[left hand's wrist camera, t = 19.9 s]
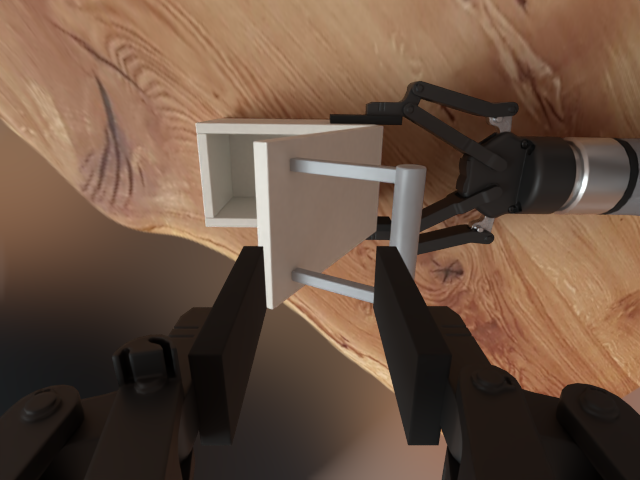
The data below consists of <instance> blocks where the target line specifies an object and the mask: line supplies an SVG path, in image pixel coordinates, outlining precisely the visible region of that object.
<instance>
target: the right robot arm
mask: <svg viewBox="0 0 640 480" xmlns="http://www.w3.org/2000/svg"><path fill="white" fill-rule="evenodd" d="M421 99H423V100H426V101H430V102H433V103H436V104H440V105H443V106H446V107H449V108H453V109H456V110H459V111H462V112H466V113H469V114H472V115H476V116H484V117H486V123H487V124H489V125H492V126H494V127H495V129H496V132H495V133H493V134H492V135H490V136H489V137H487V138H486V139H484V140H483V141H481V142H479V143H477V142H475V141H474V140H472V139H470V138H468V137H466V136H465V135H463V134H461V133H460V132H458V131H457V130H455V129H453V128H452V127H450V126H449V125H447V124H445V123H444V122H442V121H441V120H439V119H438V118H436V117H434V116H433V115H431V114H430V113H428V112H426V111H425V110H423V109H422V108H420V107H418V104H419V102H420V100H421ZM518 109H519V107H518V104H517V103H515V102H494V103H490V102H487V101H484V100H480V99H477V98H474V97H471V96H468V95H464V94H461V93H458V92H455V91H451V90H448V89H445V88H442V87H439V86H435V85H432V84H429V83H426V82H422V81H418V82H413V83H410V84H409V85H408V87H407V92H406V94H405V96H404V98H403V99H402V100H401V101H400V102H370V103H368V104H366V113H365V115H348V114H330V124H375V125H402V117H405V118H407V119H408V120H410V121H412V122H413V123H415V124H416V125H418V126H420V127H421V128H423V129H425V130H426V131H428V132H429V133H431V134H433V135H434V136H436V137H438V138H439V139H441V140H442V141H444V142H446V143H447V144H449V145H451V146H452V147H453V148H455V149H456V150H458V151H460V152H461V153H463V154H464V155H463V157H462V158H460V162H459V170H460V174H459V177H458V179H457V183H456V189H458V190H457V191H455V192H453V193H451V194H449V195H447V197H446V198H444V199H442V200H440V201H438V202H436V203H434V204H432V205H430V206H428V207H426V208H424V209H422V215H421V224H420V232H421V231H423V230H425V229H428V228H430V227H432V226H434V225H436V224H438V223H440V222H442V221H444V220H446V219H448V218H451V217H453V216H455V215H457V214H463V213H466V212H468V211H470V210H472V209H474V208H475V209H476V210H478V211H479V212H480V213H481V214H482V215H481V217H480V218H479V219H476V220H472V221H470V222H469V225H467V224H464V225H457V226H452V227H448V228H444V229H439V230H435V231H431V232H427V233H422V234H419V242H418V251H417V255H419V254H423V253H427V252H432V251H436V250H440V249H445V248H449V247H454V246H458V245H462V244H467V243H481V244H490V243H492V242H493V240H494V235H493V234H492V233H491V229H492V226H493V222H494V219H495V218H497V217H499V216H501V215H504V214H551V213H555V214H605V215H606V214H612V215H637V216H640V138H633V139H618V138H593V137H565V138H560V137H525V136H516V135H515V134H513V133H512V132H511V123H512V116H514V115H515V114H516V113H517V112H518ZM391 222H392V221H391V219H390V218H389V217H385V216H377V228H376V232H374V233H373V234H372V235H371V236H369V237H368V238H367V239H365V240H390V233H391Z"/></svg>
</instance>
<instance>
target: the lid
mask: <svg viewBox="0 0 640 480" xmlns="http://www.w3.org/2000/svg"><path fill="white" fill-rule="evenodd" d="M382 142H383V126H375V125H374V126H367V127H359V128H351V129H344V130H336V131H328V132H320V133H313V134H305V135H297V136H290V137H282V138H274V139H266V140H259V141H254V142H253V146H254V167H255V188H256V208H257V229H258V246H263V250H264V267H265V284H266V302H267V308H270V309H274V308H276V307H277V306H278V305H280V304H281V303H282V302H284V301H285V300H286V299H287V298H289V297H290V296H291V295H293V294H294V293H295V292H297V291H298V290H299V289H301V288H302V287H303V286H305V285H309V286H313V287H317V288H320V289H324V290H327V291H331V292H335V293H338V294H342V295H345V296H349V297H352V298H356V299H360V300H363V301H367V302H370V303H373V302H374V287H372V286H368V285H364V284H360V283H357V282H353V281H349V280H345V279H341V278H337V277H333V276H329V275H325V274H321V273H322V272H323V271H324V270H326V269H327V268H328V267H330V266H331V265H332V264H334V263H335V262H336V261H338V260H339V259H340V258H342V257H343V256H344V255H345V254H347V253H348V252H349V251H351V250H352V249H353V248H355V247H356V246H357V245H359V244H360V243H361V242H363V241H364V240H365V239H367V238H368V237H369V236H371V235H372V234H373V233H374V232H376V228H377V214H378V199H379V185H380V182H386V183H395V186H394V198H393V210H392V222H391V233H390V245H389V246H396V247H397V249H398V251H399V253H400V255H401V257H402V258H403V260H404V262H405V264H406V266H407V268H408V270H409V272H410V274H411V276H412V278H413V280H414V277H415V268H416V259H417V251H418V242H419V233H420V224H421V215H422V206H423V197H424V188H425V179H426V170H427V168H426V167H425V166H422V165H415V164H401V165H397V166H396V167H392V166H382V165H381V156H382Z"/></svg>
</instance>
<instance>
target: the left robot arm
mask: <svg viewBox="0 0 640 480" xmlns="http://www.w3.org/2000/svg"><path fill="white" fill-rule="evenodd" d="M266 309H267V302H266V284H265V267H264V250H263V246H244V247H243V249H242V251H241V253H240V255H239V257H238V258H237V260H236V262H235V264H234V266H233V268H232V270H231V272H230V274H229V276H228V278H227V280H226V282H225V284H224V286H223V288H222V290H221V291H220V294H219V295H218V297H217V299H216V301H215V303H214V305H213V307H193V308H192V309H190V310H189V311H188V312H186V313H185V314H183V315H182V316H181V317H180V319H179V320H178V322H177V323H176V325H175V326H174V329H172V331H171V333H170V334H169V336H165V335H148V336H143V337H138V338H136V339H134V340H131V341H129V342H127V343H125V344H124V345H123V346H121V347H120V348H118V349H117V351H116V352H115V353H114V354H113V356H112V359H113V363H114V367H115V371H116V375H117V380H118V384H119V389H118V391H115V392H112V393H108V394H104V395H100V396H95V397H91V398H86V399H82V400H81V399H80V396H79V392H78V391H77V390H76V389H75V388H74V387H73V386H68V385H56V386H49V387H46V388H43V389H40V390H37V391H35V392H33V393H31V394H29V395H27V396H25V397H23V398H22V399H21V400H19V401H18V402H17V403H15V404H14V405H13V406H12V407H10V408H9V409H8V410H7V411H6V412H5V413H4V414H3V415H2V416H1V417H0V480H193V478H194V467H195V457H194V450H193V445H194V442H195V439H196V436H197V434H198V431H199V432H200V438H201V445H232V442H233V438H234V435H235V431H236V427H237V423H238V419H239V415H240V411H241V407H242V403H243V399H244V395H245V391H246V387H247V383H248V380H249V376H250V372H251V368H252V364H253V360H254V356H255V352H256V348H257V344H258V340H259V336H260V332H261V328H262V325H263V320H264V317H265V313H266ZM373 309H374V313H375V317H376V321H377V325H378V328H379V332H380V336H381V340H382V344H383V348H384V352H385V356H386V360H387V364H388V368H389V372H390V376H391V380H392V384H393V388H394V391H395V395H396V399H397V403H398V407H399V411H400V415H401V419H402V423H403V427H404V431H405V435H406V439H407V443H408V445H439V438H440V432H441V429H442V432H443V435H444V437H445V440H446V443H447V450H446V456H445V462H444V469H443V475H442V480H640V415H639V414H638V413H637V412H636V411H635V410H634V409H633V408H632V407H631V406H630V405H628V404H627V403H626V402H625V401H623V400H622V399H621V398H620V397H618V396H616V395H615V394H613V393H611V392H609V391H607V390H605V389H602V388H599V387H596V386H593V385H589V384H581V383H575V384H570V385H567V386H566V387H565V388H564V389H562V392H561V396H560V398H556V397H552V396H547V395H543V394H538V393H534V392H530V391H527V390H524V389H522V388H521V386H520V385H519V383H518V381H517V380H516V378H514V377H513V376H512V375H511V374H509V373H508V372H507V371H505V370H503V369H501V368H499V367H497V366H494V365H491V364H490V362H489V361H488V359H487V358H486V356H485V354H484V353H483V351H482V350H481V348H480V347H479V345H478V344H477V342H476V340H475V339H474V337H473V336H472V335H471V333H470V331H469V329H468V328H466V325H465V323H464V322H463V320H462V319H461V317H460V315H458V314H457V313H456V312H454V311H453V310H451V309H450V308H449V307H447V306H427V305H426V303H425V301H424V299H423V297H422V295H421V293H420V291H419V290H418V288H417V286H416V284H415V282H414V280H413V278H412V276H411V274H410V272H409V270H408V268H407V266H406V264H405V262H404V260H403V258H402V257H401V255H400V253H399V251H398V249H397V247H396V246H377V250H376V267H375V284H374V302H373Z"/></svg>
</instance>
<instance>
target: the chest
mask: <svg viewBox="0 0 640 480" xmlns="http://www.w3.org/2000/svg"><path fill="white" fill-rule="evenodd" d="M374 125H375V124H330V120H326V119H250V118H220V119H215V120H209V121H204V122H198V123H196V132H197V141H198V152H199V162H200V172H201V182H202V192H203V202H204V212H205V223H206V227H257V208H256V188H255V167H254V146H253V142H254V141H259V140H266V139H274V138H282V137H290V136H297V135H305V134H313V133H320V132H328V131H336V130H344V129H351V128H359V127H367V126H374ZM375 126H378V125H375Z"/></svg>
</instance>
